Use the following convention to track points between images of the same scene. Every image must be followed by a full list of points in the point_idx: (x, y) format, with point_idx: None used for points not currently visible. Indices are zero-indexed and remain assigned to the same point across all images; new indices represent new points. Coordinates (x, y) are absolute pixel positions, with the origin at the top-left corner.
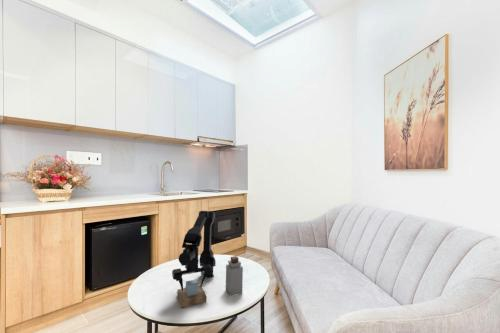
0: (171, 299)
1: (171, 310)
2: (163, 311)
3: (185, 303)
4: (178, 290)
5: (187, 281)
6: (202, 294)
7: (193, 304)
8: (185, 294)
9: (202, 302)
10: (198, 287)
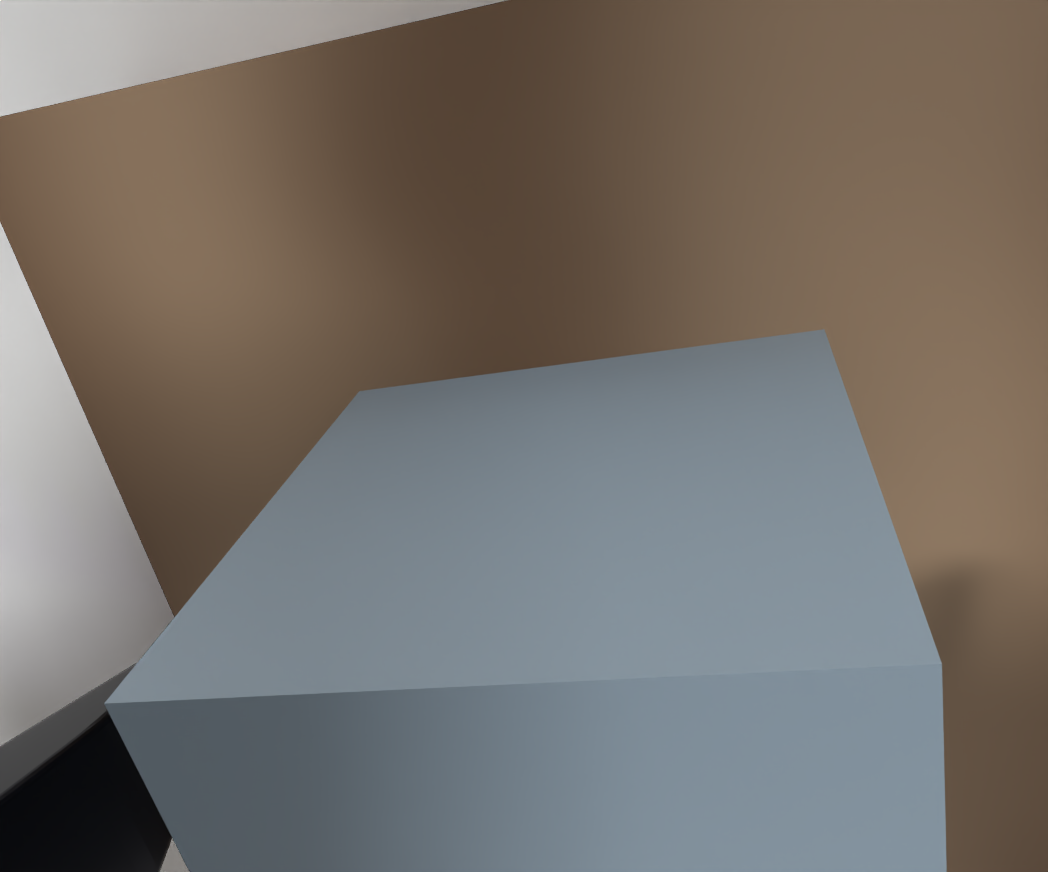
0: (6, 303)
1: None
2: (10, 738)
3: None
4: (28, 229)
5: (214, 753)
6: (1028, 792)
7: None
8: None
9: None
10: (1019, 159)
